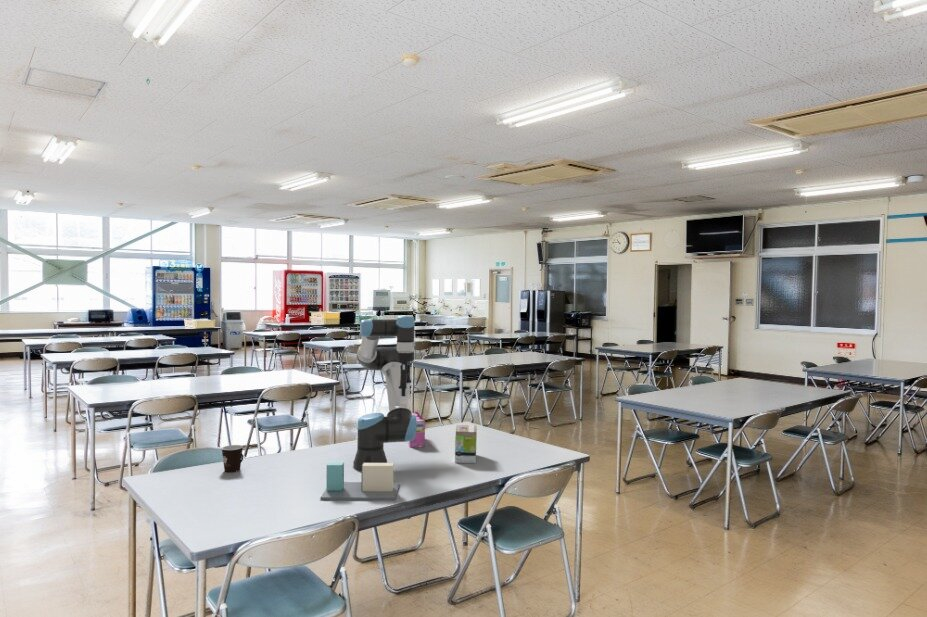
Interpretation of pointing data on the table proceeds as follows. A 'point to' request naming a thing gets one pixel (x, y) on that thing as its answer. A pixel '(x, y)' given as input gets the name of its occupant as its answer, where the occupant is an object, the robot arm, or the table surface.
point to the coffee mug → (232, 457)
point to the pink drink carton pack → (418, 432)
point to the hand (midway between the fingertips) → (405, 400)
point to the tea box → (465, 444)
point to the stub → (335, 476)
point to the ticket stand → (368, 485)
